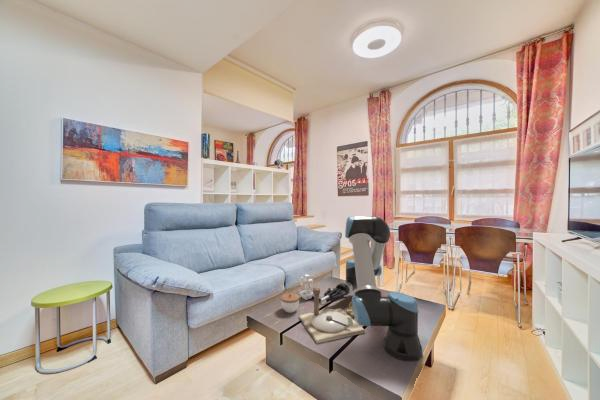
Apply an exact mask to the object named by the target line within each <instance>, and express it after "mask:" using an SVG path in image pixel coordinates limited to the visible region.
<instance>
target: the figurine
mask: <svg viewBox="0 0 600 400" xmlns="http://www.w3.org/2000/svg"><path fill="white" fill-rule="evenodd" d="M299 281H300V286H301V287H303V286H304V290H299V296H301V298H302V299H304V300H305V301H308V300H310V299H312V298H313V297H314V294H313V290H310V288H314V279H312V278H310V274H308V273H306V274H304V277H303V276H300V279H299ZM312 296H313V297H312Z"/></svg>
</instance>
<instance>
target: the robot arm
mask: <svg viewBox="0 0 600 400" xmlns="http://www.w3.org/2000/svg"><path fill="white" fill-rule="evenodd" d="M344 232H345V235H344V236H345V238H346V239H348V243H350V244H352V246H351V247H352V254H353V259H347V260H346V261H345V280H344V281H343V282H341V283H339V284H337V285H336V287H334V288H331V287H328V288H327V290H326V291H325V292H324V294H323V297H322V298H320V305H322V306H323V305H325V304H327V303H329V302H332V301H333V302H337V301H340V300H343V299H347V298H348V295H349V294H351V293H352V292H354V295H352V296H351V302H352V308H353V313H354V320H355V322H357V323H358V324H359V325H360V326H364V327H365V326H366V327H387V331H386V333H385V337H384V339H383V348H384V349H385V351H386V352H387V354H389V355H390V356H392V357H394V358H396V359H398V360H402V361H405V362H414V361H415V362H416V361H418V360H420V359H421V358H422V357H423V346H422V345H421V340H420V337H419V333H418V331H419V330H418V329H419V328H418V326H419V325H418V324H419V308H418V307H419V305H418V304H419V303H418V301H417V300H416V299H415V298H414V297H413V296H411V295H409V294H407V293H404V292H400V291H390V292H389V293H388V294H387V296H383V294H382V291H381V290H380V289H379V288H377V283H376V276H377V277H379V276H381V275H382V265H381V260H382V258H383V255H384V254H383V253H384V251H385V248H386V244H387V243H388V242H389V241H390V238H391V230H390V226H389V224H388V223H387V222H386V221H385V220H384V219H383V218H381V217H378V216H356V215H354V216H348V217H347V219H346V223H345V231H344ZM370 242H371V245H370Z"/></svg>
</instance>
